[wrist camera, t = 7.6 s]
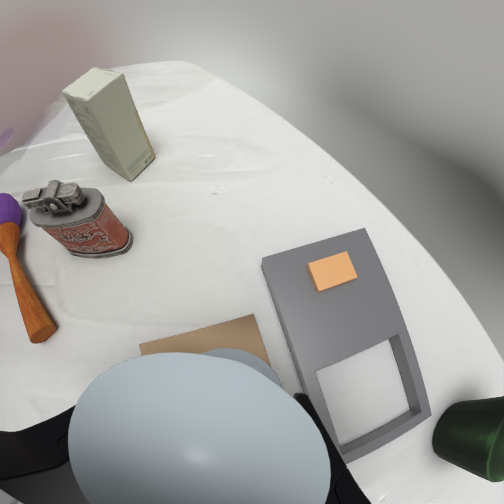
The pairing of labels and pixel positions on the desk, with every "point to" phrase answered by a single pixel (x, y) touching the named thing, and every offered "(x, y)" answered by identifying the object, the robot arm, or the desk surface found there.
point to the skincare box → (110, 120)
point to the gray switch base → (343, 323)
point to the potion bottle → (473, 437)
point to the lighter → (78, 220)
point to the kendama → (22, 273)
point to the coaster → (213, 339)
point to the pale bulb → (195, 434)
